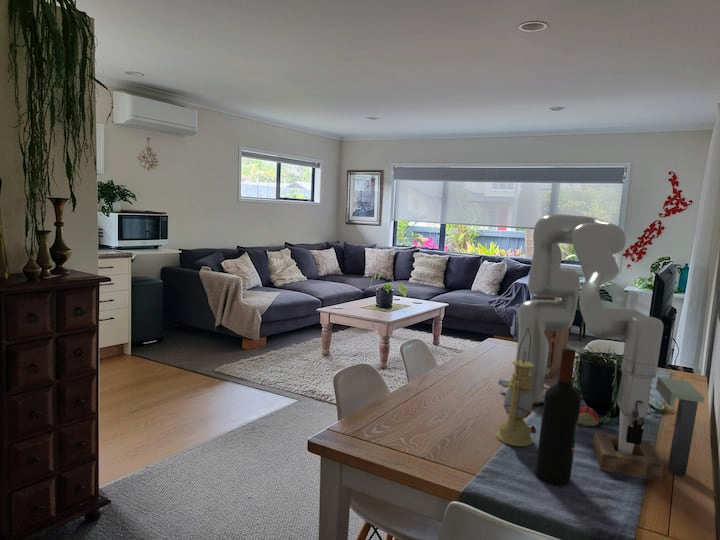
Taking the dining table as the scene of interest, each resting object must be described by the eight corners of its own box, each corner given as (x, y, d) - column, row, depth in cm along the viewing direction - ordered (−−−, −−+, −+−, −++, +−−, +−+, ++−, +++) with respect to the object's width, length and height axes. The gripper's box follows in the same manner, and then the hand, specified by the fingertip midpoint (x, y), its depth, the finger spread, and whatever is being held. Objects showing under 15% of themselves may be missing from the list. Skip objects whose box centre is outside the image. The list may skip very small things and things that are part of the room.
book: (541, 358, 217) (550, 286, 213) (565, 363, 212) (575, 289, 208) (524, 372, 196) (534, 293, 192) (549, 379, 191) (560, 297, 187)
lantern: (528, 453, 132) (542, 336, 127) (489, 441, 137) (502, 328, 132) (539, 436, 142) (553, 327, 138) (503, 426, 147) (515, 320, 143)
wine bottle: (529, 468, 124) (545, 344, 120) (560, 468, 125) (577, 345, 121) (543, 485, 117) (560, 354, 113) (576, 486, 117) (594, 355, 113)
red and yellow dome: (573, 424, 152) (574, 413, 152) (574, 412, 161) (575, 401, 161) (598, 430, 149) (600, 418, 149) (598, 418, 158) (599, 406, 158)
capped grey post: (657, 479, 123) (672, 392, 120) (645, 456, 135) (657, 376, 132) (691, 486, 121) (706, 397, 119) (675, 462, 133) (689, 381, 130)
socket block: (600, 469, 126) (602, 453, 125) (592, 446, 138) (594, 431, 138) (660, 481, 123) (663, 465, 122) (646, 456, 135) (649, 441, 135)
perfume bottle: (637, 465, 128) (645, 406, 126) (618, 462, 129) (625, 404, 126) (631, 455, 132) (639, 398, 130) (612, 453, 133) (620, 396, 131)
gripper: (615, 355, 136) (606, 418, 139) (629, 375, 120) (619, 447, 122) (647, 359, 134) (637, 423, 137) (666, 381, 118) (654, 453, 120)
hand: (628, 434), depth 130 cm, fingers open, 9 cm apart
